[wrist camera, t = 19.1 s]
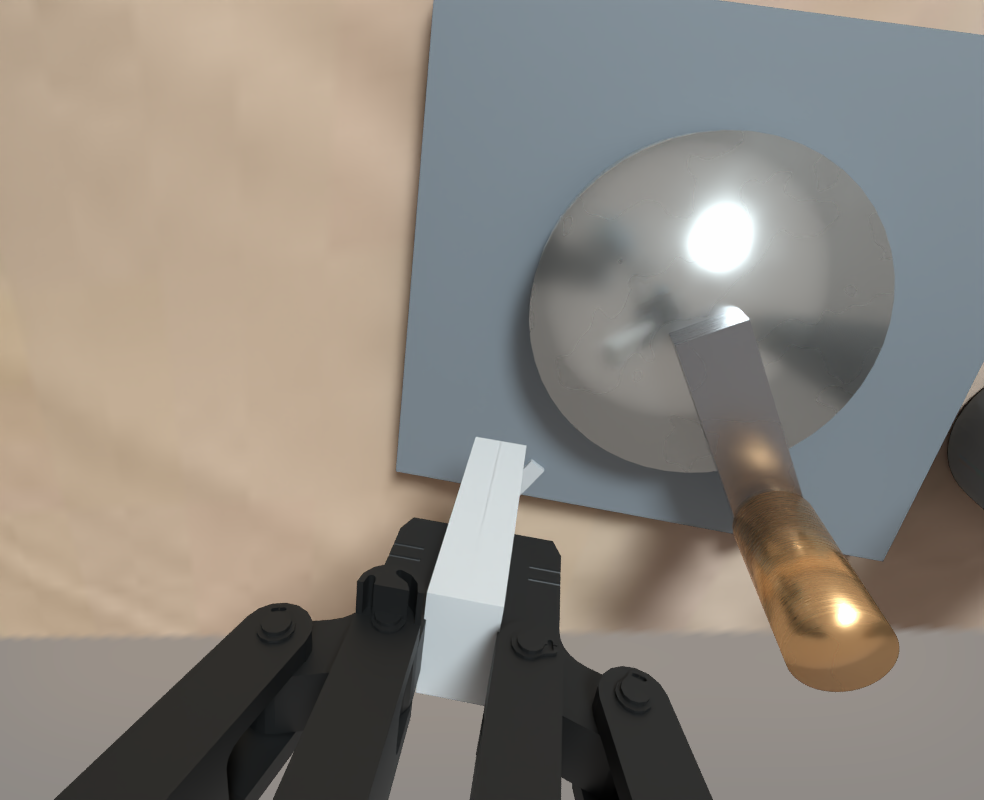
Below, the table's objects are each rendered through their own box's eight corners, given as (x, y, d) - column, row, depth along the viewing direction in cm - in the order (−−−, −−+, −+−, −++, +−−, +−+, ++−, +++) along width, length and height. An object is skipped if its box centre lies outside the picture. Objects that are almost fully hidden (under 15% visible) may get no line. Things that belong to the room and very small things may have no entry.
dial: (738, 530, 21) (818, 719, 14) (471, 334, 20) (415, 439, 13) (991, 315, 18) (1268, 430, 11) (685, 49, 16) (772, -25, 9)
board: (405, 463, 24) (393, 485, 23) (447, -23, 18) (435, -39, 16) (859, 546, 23) (880, 575, 22) (1090, 62, 16) (1144, 54, 15)
